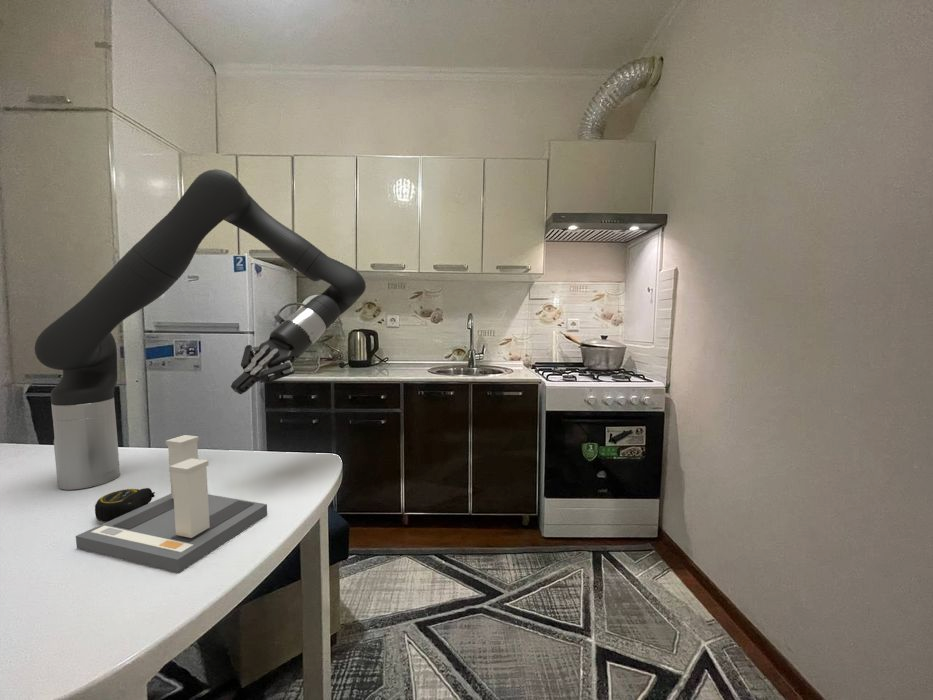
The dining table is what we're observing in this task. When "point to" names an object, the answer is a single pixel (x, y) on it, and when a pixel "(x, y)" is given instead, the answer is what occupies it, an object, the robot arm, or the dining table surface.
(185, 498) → the switch tab
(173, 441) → the switch tab
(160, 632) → the dining table surface
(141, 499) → the tape measure
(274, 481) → the dining table surface
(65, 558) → the dining table surface
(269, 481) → the dining table surface
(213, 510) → the switch board
